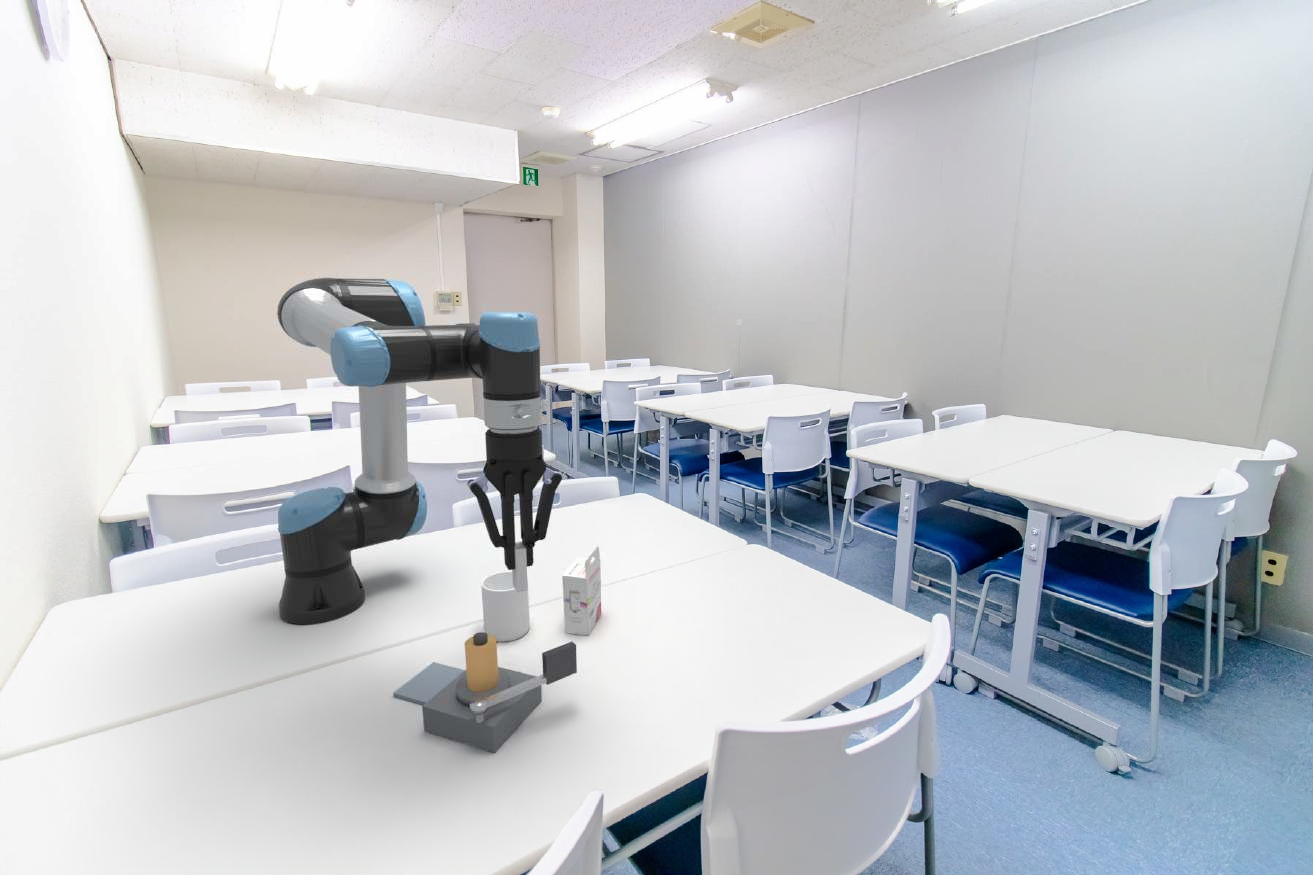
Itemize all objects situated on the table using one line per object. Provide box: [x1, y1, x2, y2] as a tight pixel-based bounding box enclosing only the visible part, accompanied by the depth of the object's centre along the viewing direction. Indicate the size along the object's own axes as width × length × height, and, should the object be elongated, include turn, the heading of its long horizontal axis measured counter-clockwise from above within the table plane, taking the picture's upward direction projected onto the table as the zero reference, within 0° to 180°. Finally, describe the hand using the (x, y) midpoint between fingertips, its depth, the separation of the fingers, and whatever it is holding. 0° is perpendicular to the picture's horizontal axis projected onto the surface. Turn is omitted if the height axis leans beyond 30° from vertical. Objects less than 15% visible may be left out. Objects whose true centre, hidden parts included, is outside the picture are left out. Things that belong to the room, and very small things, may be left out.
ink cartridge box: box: [561, 545, 602, 636], centre depth 114 cm, size 9×5×15 cm, turn 168°
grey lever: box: [470, 641, 578, 715], centre depth 86 cm, size 2×16×5 cm, turn 129°
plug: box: [456, 631, 510, 705], centre depth 88 cm, size 8×8×13 cm
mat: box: [392, 661, 466, 706], centre depth 96 cm, size 9×9×1 cm
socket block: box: [421, 666, 543, 754], centre depth 89 cm, size 12×12×5 cm
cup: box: [480, 570, 531, 643], centre depth 114 cm, size 8×12×10 cm
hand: (520, 587), depth 87 cm, fingers closed
